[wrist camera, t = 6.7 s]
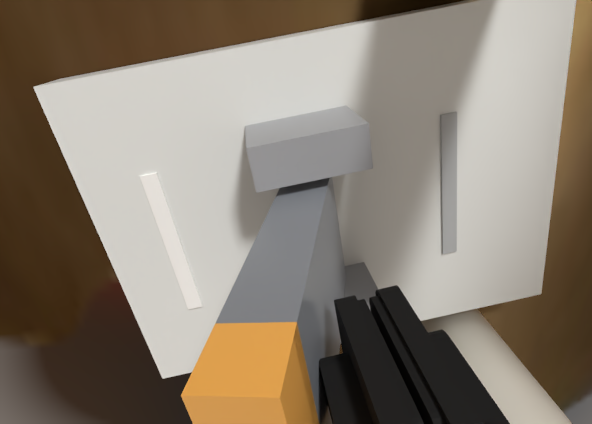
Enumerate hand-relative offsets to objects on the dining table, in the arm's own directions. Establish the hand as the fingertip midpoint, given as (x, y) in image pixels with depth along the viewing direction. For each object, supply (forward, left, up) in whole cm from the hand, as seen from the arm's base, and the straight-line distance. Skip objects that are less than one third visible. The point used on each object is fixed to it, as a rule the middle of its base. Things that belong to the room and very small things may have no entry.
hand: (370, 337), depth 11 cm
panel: (-1, -1, -8) cm, 8 cm away
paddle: (0, -1, -5) cm, 5 cm away
